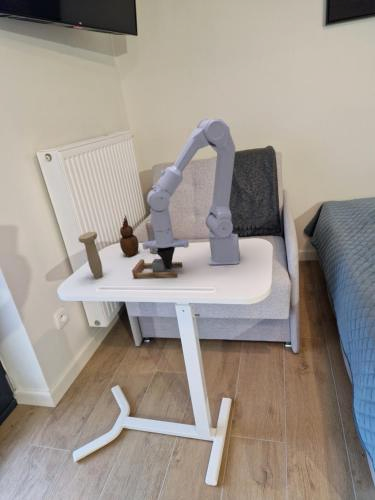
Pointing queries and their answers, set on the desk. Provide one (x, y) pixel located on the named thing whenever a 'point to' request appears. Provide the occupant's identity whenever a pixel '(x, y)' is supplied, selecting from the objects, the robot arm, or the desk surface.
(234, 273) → the desk surface
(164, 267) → the grey cube
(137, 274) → the channel
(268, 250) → the desk surface
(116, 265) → the desk surface
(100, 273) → the handle
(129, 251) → the wooden figurine
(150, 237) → the energy drink
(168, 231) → the robot arm
